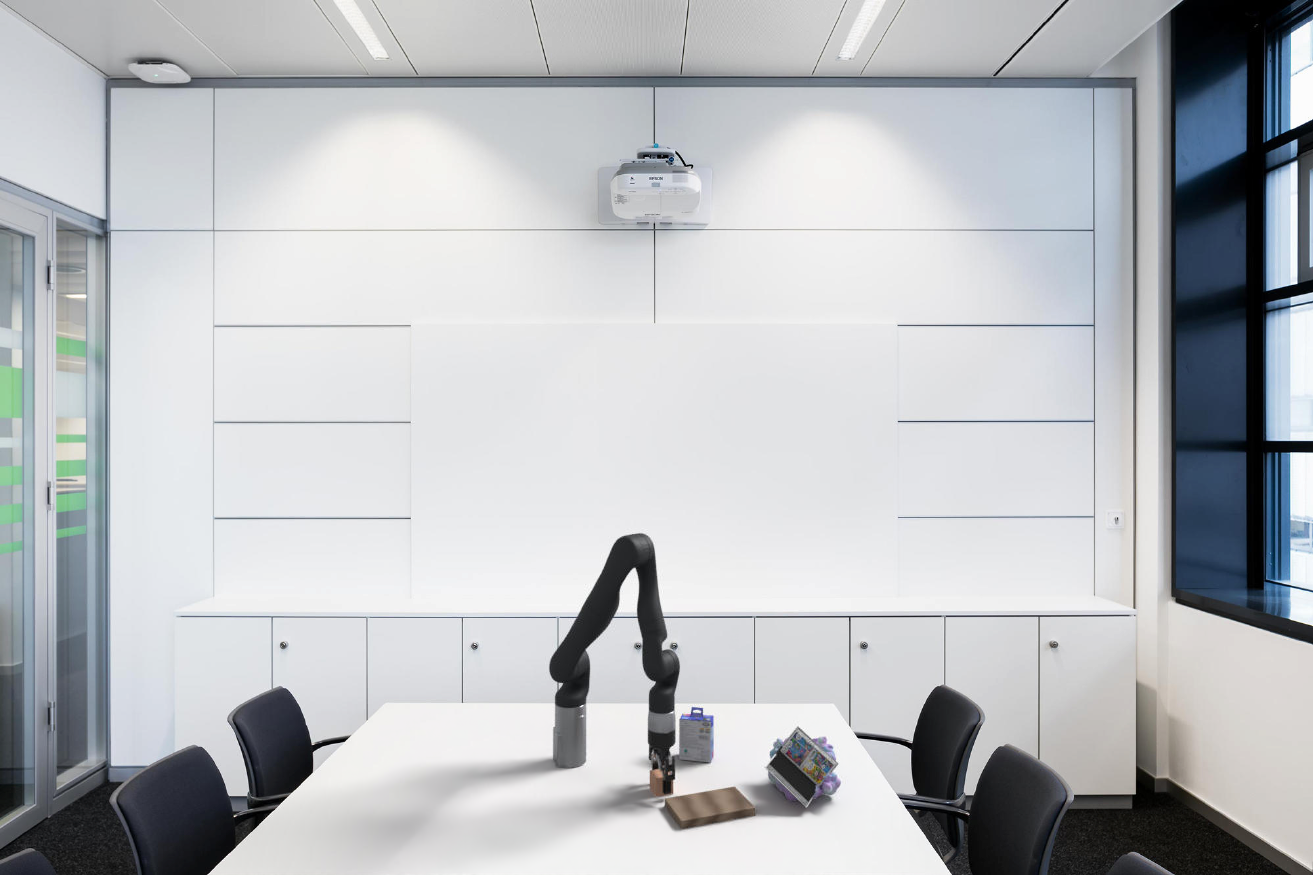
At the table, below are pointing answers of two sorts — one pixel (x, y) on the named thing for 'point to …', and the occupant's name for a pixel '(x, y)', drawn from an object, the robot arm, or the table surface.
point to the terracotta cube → (658, 783)
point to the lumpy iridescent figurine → (803, 767)
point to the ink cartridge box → (696, 736)
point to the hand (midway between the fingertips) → (661, 785)
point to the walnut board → (709, 807)
